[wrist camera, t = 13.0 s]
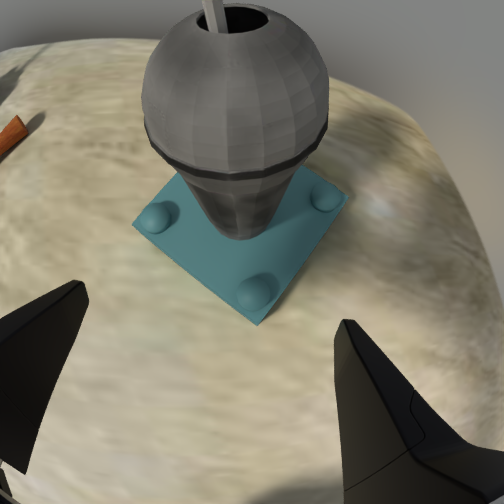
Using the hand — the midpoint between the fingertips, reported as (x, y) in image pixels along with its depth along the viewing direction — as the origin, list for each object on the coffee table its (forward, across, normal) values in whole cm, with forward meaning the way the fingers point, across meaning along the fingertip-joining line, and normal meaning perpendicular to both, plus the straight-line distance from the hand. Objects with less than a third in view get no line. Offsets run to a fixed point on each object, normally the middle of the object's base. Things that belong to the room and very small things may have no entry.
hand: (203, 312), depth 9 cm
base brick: (+14, 0, +3) cm, 15 cm away
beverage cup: (+13, 0, +2) cm, 13 cm away
